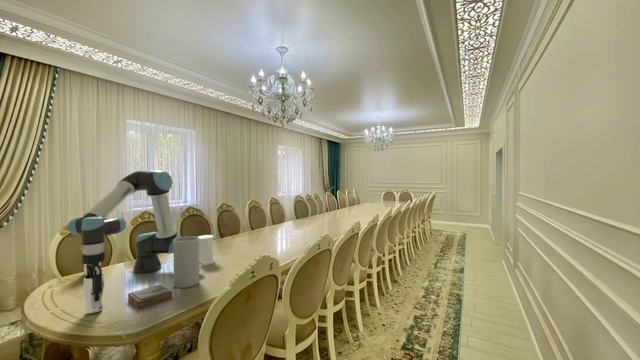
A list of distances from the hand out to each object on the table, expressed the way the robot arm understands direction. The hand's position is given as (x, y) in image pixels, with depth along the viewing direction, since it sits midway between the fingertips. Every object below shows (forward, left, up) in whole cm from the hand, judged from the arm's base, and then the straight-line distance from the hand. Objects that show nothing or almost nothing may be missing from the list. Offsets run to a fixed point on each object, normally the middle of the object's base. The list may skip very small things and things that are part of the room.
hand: (94, 305), depth 117 cm
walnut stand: (+6, +20, -3) cm, 21 cm away
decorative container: (-28, +66, -3) cm, 72 cm away
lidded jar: (-12, +49, -3) cm, 50 cm away
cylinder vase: (0, +40, -3) cm, 40 cm away
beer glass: (0, 0, -2) cm, 2 cm away
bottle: (-63, +12, -3) cm, 64 cm away
